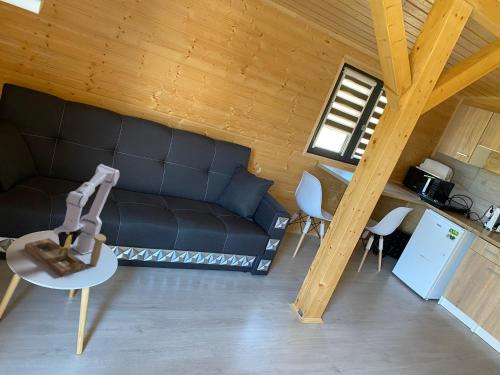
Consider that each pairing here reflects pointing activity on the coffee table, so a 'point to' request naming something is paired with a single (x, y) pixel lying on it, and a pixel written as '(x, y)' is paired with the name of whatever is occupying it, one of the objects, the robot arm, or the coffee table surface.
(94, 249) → the handle
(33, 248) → the mount block
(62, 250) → the peg
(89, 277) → the coffee table surface
